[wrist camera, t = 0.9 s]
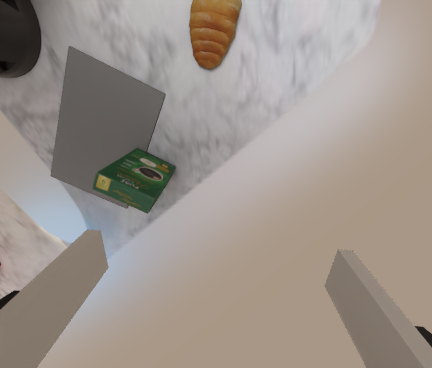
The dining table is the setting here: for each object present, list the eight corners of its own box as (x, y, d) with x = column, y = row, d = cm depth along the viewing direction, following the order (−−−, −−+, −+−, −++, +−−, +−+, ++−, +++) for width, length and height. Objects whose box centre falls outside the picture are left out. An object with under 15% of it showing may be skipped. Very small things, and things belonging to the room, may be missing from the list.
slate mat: (52, 175, 40) (50, 176, 40) (70, 46, 31) (68, 45, 31) (127, 207, 42) (126, 208, 42) (165, 94, 33) (165, 94, 33)
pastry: (227, 74, 31) (226, 70, 28) (185, 64, 31) (179, 59, 28) (243, -1, 28) (244, -16, 24) (195, -12, 28) (190, -29, 24)
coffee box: (130, 159, 37) (89, 190, 25) (135, 146, 36) (94, 171, 24) (170, 178, 39) (149, 216, 27) (176, 166, 38) (157, 199, 26)
